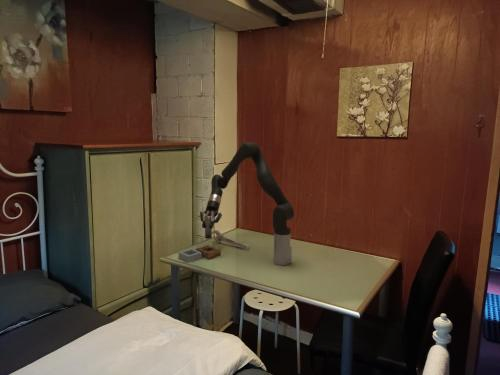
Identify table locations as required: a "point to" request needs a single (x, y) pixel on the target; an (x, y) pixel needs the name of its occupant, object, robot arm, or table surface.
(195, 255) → the seat block
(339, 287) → the table surface
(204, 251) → the beam block
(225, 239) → the wrench
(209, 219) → the axle
